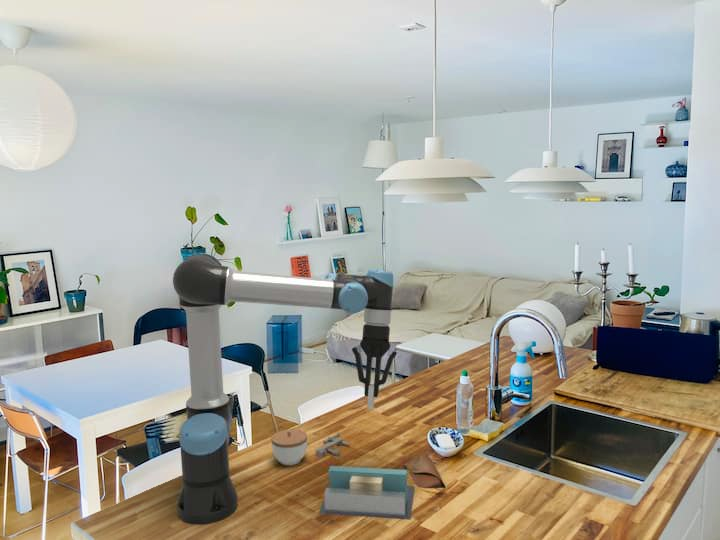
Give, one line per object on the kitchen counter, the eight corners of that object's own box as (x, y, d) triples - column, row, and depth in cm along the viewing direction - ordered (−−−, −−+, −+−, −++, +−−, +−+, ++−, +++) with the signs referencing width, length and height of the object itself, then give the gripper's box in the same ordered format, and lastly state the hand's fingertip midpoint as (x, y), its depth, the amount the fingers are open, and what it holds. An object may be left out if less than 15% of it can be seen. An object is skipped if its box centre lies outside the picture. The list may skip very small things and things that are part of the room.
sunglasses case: (400, 463, 172) (411, 444, 171) (420, 473, 173) (431, 454, 173) (415, 495, 154) (427, 473, 154) (437, 505, 155) (449, 484, 155)
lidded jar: (314, 456, 178) (313, 427, 177) (296, 472, 168) (295, 441, 167) (284, 450, 182) (283, 422, 181) (265, 465, 173) (263, 435, 171)
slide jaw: (329, 499, 150) (328, 470, 149) (331, 494, 153) (330, 465, 152) (406, 504, 147) (406, 474, 146) (407, 499, 150) (406, 470, 149)
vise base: (318, 517, 144) (317, 494, 144) (331, 485, 160) (330, 464, 159) (410, 524, 141) (410, 500, 140) (414, 490, 156) (414, 468, 156)
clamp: (329, 455, 174) (305, 446, 181) (329, 462, 175) (305, 453, 181) (360, 438, 186) (337, 430, 192) (360, 444, 186) (337, 436, 193)
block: (350, 507, 147) (349, 481, 146) (352, 501, 149) (351, 475, 149) (381, 509, 145) (381, 483, 144) (383, 503, 148) (382, 477, 147)
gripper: (400, 325, 166) (394, 408, 165) (356, 321, 168) (349, 403, 168) (398, 327, 159) (391, 413, 158) (351, 323, 161) (345, 408, 160)
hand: (370, 408), depth 163 cm, fingers closed
